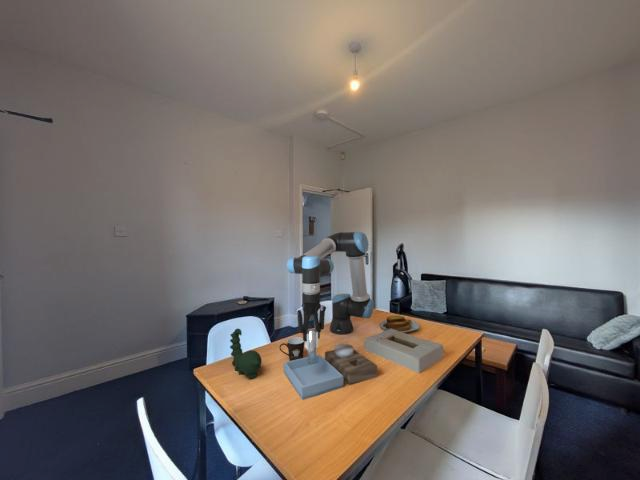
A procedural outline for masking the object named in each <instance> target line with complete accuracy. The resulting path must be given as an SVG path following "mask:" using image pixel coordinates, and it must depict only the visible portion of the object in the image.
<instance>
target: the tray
mask: <svg viewBox="0 0 640 480" xmlns="http://www.w3.org/2000/svg"><path fill="white" fill-rule="evenodd" d="M283 374H284V376H285V377H286V378H287V380H288V381H289V383H290V384H291V385H292V387H293V388H294V391H296V393H297V394H298V396H299V397H300V399H301V400H302V401H303V400H306V399H309V398H314V397H317V396H319V395H322V394H326V393H328V392H332V391H335V390H339V389H342V388H344V379H343V375H342V374H340V373H339V372H338V371H337V370H336V369H335V368H334V367H333V366H332V365H331V364H330V363H328V362H327V361H326V360H325V357H323V355H321V354H316V363H315V364H313V365H310V364H308V357H307V356H305V357H303V358H301V359H297V360H292V361H290V360H288V361H284V362H283Z"/></svg>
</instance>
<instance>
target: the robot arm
mask: <svg viewBox="0 0 640 480" xmlns="http://www.w3.org/2000/svg"><path fill="white" fill-rule="evenodd" d="M368 251H369V239H368V237H367V234H365V233H364V232H362V231H347V232H343V231H341V232H340V231H339V232H337V233H333V234H330V235H329V236H327V237H325V238H323V239H322V240H321V242H320V243H319V244H317V245H316V246H314V247H313V248H311V249H310V250H308V251H307V252H305V253H303V254H302V255H300V256H298V257H291V258H288V260H287V261H286V270H287V271H288V273H290V274H295V275H301V276H302V277H301V279H302V280H301V284H302V286H301V288H302V289H301V292H302V293H301V294H302V296H301V298H302V299H301V301H302V304H301V307H299V308H295V313H296V315H297V326H298V328H297V330H298V332H299V333H301V334H302V338H303V340H304V341H305V342H304V349H306V350H309V334H308V333H307V331H308V329H309V323H310V319H311V316H312V317H313V323H314V329H315V330H316V348H319V339H320V338H321V336H320V335H321V334H320V333H321V332H322V330H324V328H325V314H326V310H327V306H326V305H324V304H323V305H322V304H321V293H320V291H321V287H320V286H321V282H320V281H321V277H322V276H328V275H329V274H331V273H333V271H334V268H335V266H334V262H333V261H332V260H331V259H330V258H325V257H327V256H328V255H331V254H334V253H337V252H338V253H339V252H340V253H341V252H342V253H345V257H347V259H348V261H349V263H348V264H349V269H350V270H349V272H350V279H351V280H350V281H351V287H352V289H351V290H352V294H350V293H339V294H335V295H333V296H332V300H331V308H332V311H331V313H332V317H331V318H332V319H331V322H330V325H329V331H330V332H331V333H332V334H335V335H349V334H351V333H353V332H354V325H353V323H352V322H353V321H352V320H351V317H355V318H361V319H369V318H371V317H372V315H373V313H374V309H375V301H374V299H372V298H371V296H370V294H369V293H368V290H367V289H368V288H367V281H366V280H367V279H366V269H365V268H366V267H365V259H364V257H365V256H366V254H367V252H368ZM303 312H304V314H303ZM303 315H304V318H303Z"/></svg>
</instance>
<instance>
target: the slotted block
mask: <svg viewBox="0 0 640 480" xmlns="http://www.w3.org/2000/svg"><path fill="white" fill-rule="evenodd" d="M363 342H364V350H365V351H366V352H368V353H371V354H374V355H376V356H378V357H380V358H383V359H385V360H387V361H389V362H392V363H394V364H397V365H399V366H400V367H401V366H402V367H403V368H405V369H408V370H410V371H413V372H416V373H418V374H420V373H422V372H423V371H425V370H426V369H428V368H430V367H431V366H433V365H434V364H436V363H437V362H440V360H441V361H442V359H444V345H443V344H441V343H438V342H435V341H432V340H428V339H423V338H421V337H417V336H414V335H410V334H408V333H406V332H405V333H403V332H399V331H398V330H394V329H388V330H386V329H385V330H384V331H382V332H378V333H376V334H374V335H372V336H368V337H366V338H364V341H363Z"/></svg>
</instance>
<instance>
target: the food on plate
mask: <svg viewBox="0 0 640 480" xmlns="http://www.w3.org/2000/svg"><path fill="white" fill-rule="evenodd" d="M379 325H380V328H382V329H383V330H385V331H386V330H389V329H394V330H398V331H399V332H402V333H405V334H406V333H409V332H413V331H416V330H417V331H418V330H419V328H420V327H421V325H420V323H418V322H417V321H414V320H411V319H407V318H405V316H400V315H390V316H388V317H386V320H383V321H382V322H380V323H379Z"/></svg>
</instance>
